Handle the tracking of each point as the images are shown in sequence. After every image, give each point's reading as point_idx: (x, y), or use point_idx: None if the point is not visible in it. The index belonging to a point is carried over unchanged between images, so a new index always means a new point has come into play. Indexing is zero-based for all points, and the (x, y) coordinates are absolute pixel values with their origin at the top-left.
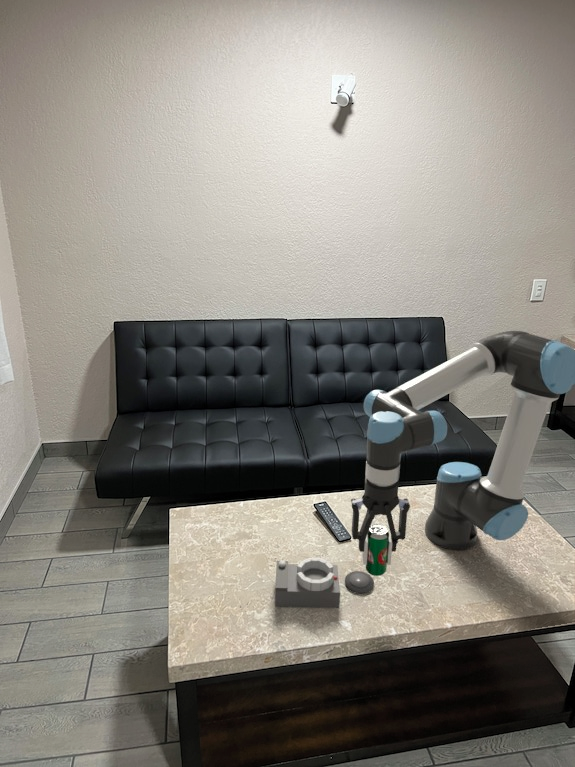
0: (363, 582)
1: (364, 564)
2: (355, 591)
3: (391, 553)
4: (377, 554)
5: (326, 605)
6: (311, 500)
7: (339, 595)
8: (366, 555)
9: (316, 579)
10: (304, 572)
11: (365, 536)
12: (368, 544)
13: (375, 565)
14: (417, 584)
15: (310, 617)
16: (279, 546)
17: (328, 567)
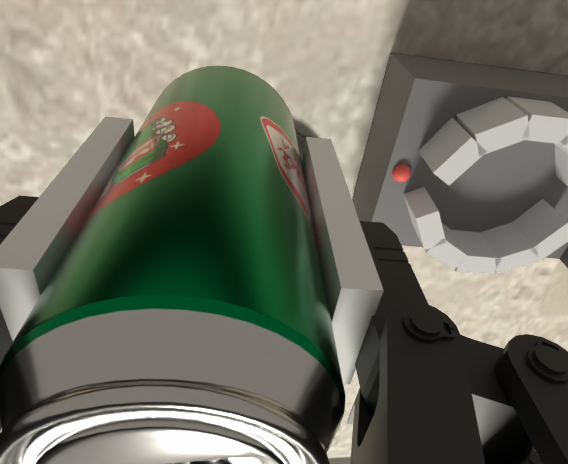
0: None
1: (324, 139)
2: (298, 136)
3: (60, 173)
4: (224, 151)
5: (448, 63)
6: (329, 457)
7: (412, 72)
8: (324, 182)
9: (488, 171)
10: (519, 213)
11: (404, 377)
12: (321, 270)
13: (243, 101)
14: (35, 157)
15: (532, 9)
16: (481, 336)
17: (439, 216)
